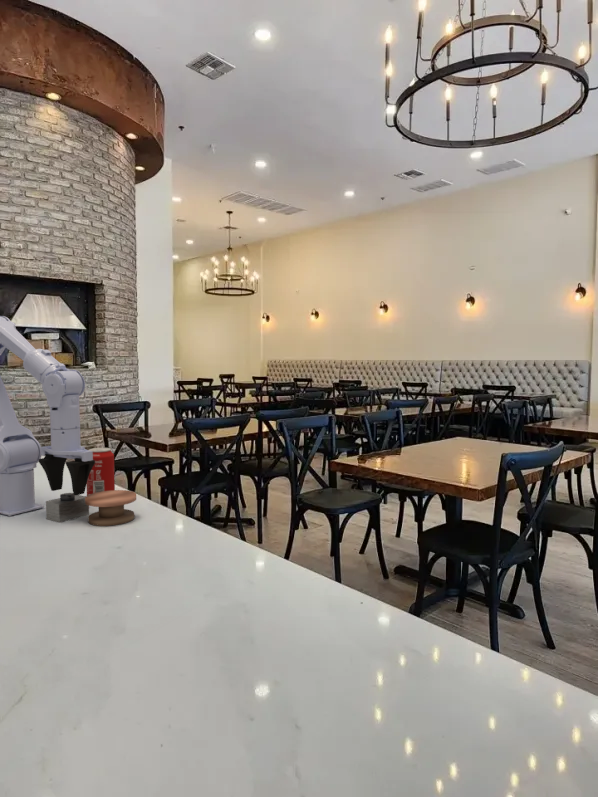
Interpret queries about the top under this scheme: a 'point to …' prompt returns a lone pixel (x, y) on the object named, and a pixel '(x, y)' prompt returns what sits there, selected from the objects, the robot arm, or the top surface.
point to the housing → (66, 508)
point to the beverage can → (101, 471)
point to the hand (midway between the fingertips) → (67, 492)
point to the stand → (110, 507)
